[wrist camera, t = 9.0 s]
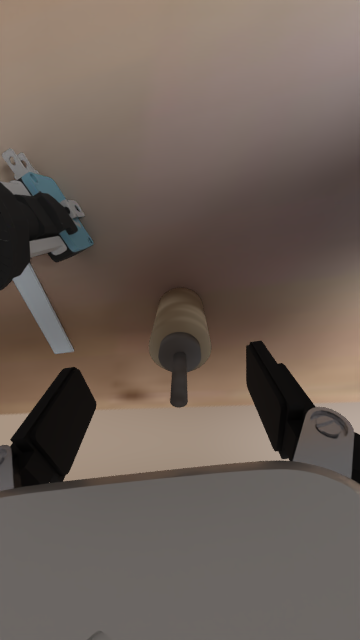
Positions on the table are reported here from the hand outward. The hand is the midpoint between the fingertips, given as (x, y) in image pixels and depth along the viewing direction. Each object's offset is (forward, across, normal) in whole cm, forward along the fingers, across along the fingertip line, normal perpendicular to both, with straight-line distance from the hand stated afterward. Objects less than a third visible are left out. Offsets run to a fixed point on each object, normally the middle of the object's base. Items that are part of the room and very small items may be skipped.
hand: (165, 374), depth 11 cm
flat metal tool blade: (+8, +11, -4) cm, 15 cm away
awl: (+8, -1, 0) cm, 8 cm away
